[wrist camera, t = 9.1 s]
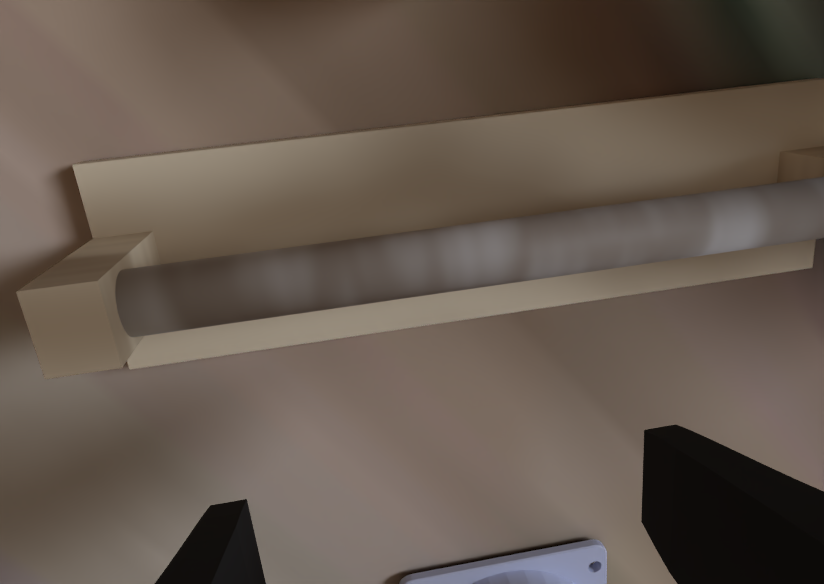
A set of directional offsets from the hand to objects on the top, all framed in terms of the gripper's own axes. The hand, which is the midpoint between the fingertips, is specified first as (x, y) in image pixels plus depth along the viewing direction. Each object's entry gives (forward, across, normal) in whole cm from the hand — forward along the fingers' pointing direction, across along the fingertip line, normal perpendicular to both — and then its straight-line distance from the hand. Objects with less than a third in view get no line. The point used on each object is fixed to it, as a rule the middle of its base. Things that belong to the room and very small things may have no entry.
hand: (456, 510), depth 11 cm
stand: (+9, -3, -3) cm, 10 cm away
